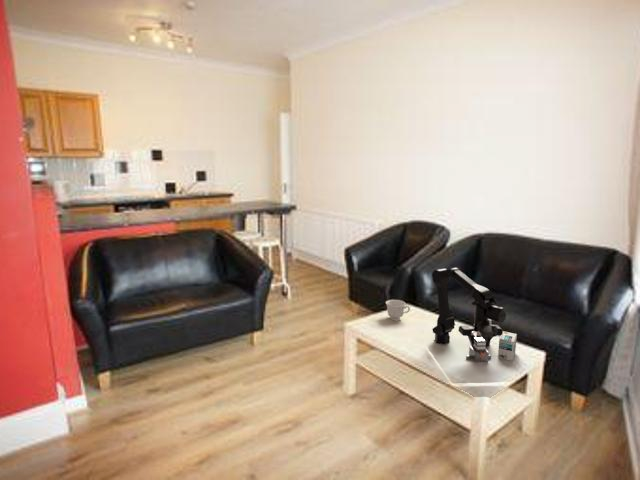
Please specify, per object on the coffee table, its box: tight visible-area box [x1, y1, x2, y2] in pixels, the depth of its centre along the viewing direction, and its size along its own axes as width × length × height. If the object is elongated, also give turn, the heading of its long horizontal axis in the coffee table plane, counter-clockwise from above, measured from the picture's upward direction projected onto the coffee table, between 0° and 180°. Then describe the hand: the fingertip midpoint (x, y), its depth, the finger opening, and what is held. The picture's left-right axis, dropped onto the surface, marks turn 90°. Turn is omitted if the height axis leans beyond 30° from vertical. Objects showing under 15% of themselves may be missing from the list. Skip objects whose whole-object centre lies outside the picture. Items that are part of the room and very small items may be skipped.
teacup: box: [385, 299, 411, 321], centre depth 237 cm, size 12×15×10 cm
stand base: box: [465, 345, 492, 363], centre depth 187 cm, size 12×12×6 cm
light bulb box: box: [497, 330, 518, 362], centre depth 190 cm, size 11×7×11 cm, turn 148°
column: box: [473, 336, 487, 352], centre depth 186 cm, size 4×4×10 cm
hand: (479, 347), depth 186 cm, fingers open, 6 cm apart
